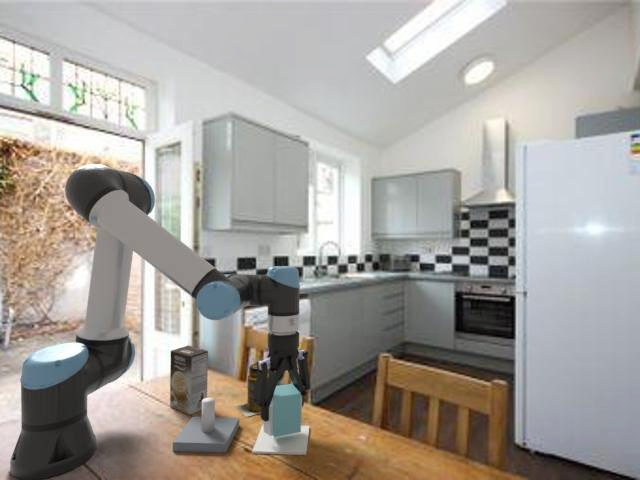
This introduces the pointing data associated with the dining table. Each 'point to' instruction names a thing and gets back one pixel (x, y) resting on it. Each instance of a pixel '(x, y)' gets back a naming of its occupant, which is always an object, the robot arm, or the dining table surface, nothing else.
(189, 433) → the post base
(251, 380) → the condiment
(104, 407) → the dining table surface
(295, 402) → the teal rectangular block
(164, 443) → the dining table surface
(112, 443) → the dining table surface
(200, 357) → the coffee box
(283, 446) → the mat
